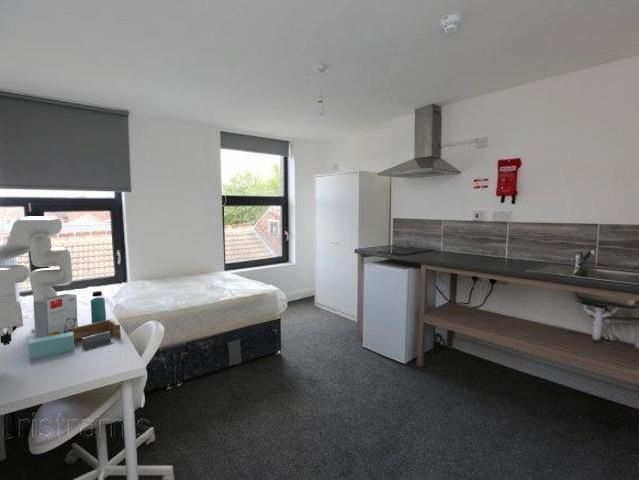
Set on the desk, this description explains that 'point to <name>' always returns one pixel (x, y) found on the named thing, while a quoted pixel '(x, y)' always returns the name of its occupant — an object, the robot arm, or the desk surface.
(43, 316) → the hard drive box
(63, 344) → the mint green box
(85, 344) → the grey bookend
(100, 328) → the walnut rack
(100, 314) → the beverage bottle
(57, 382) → the desk surface
